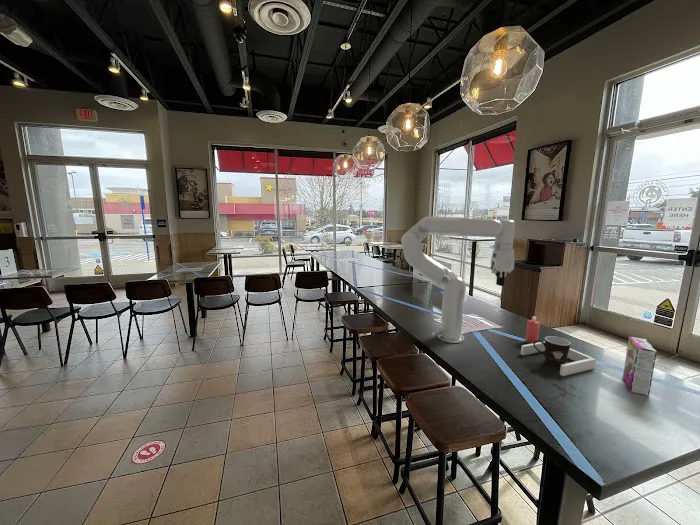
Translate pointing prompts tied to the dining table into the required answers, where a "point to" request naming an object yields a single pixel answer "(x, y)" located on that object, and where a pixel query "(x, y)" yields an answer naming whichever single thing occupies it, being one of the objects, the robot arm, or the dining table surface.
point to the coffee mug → (555, 350)
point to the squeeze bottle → (532, 330)
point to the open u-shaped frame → (581, 359)
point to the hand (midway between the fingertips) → (500, 285)
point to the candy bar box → (639, 365)
